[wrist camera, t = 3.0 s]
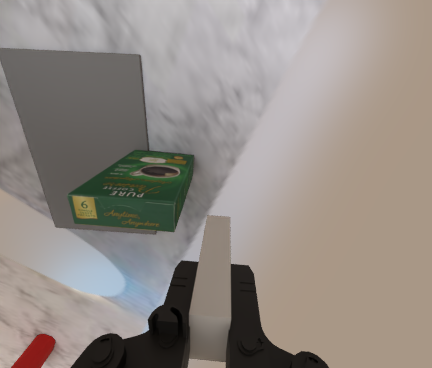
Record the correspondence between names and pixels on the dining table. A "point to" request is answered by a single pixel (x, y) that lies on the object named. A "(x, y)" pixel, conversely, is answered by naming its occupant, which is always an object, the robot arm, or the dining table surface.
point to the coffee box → (135, 192)
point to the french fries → (36, 352)
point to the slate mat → (77, 118)
